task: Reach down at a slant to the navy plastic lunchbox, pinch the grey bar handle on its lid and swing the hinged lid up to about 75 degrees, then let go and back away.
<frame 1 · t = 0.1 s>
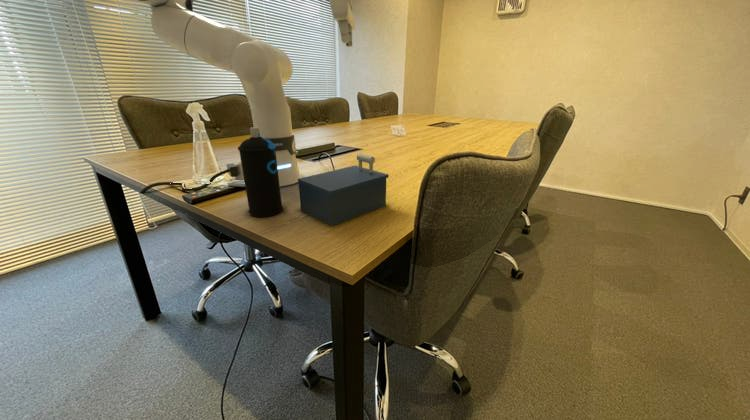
hand: (347, 44, 82), 39 cm above the table, tool pointing down, fingers open, 8 cm apart
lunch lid: (344, 169, 73), point 10 cm above the table, hinge at 0.0°
aerosol can: (266, 211, 75), on the table
lunchbox: (344, 207, 77), on the table
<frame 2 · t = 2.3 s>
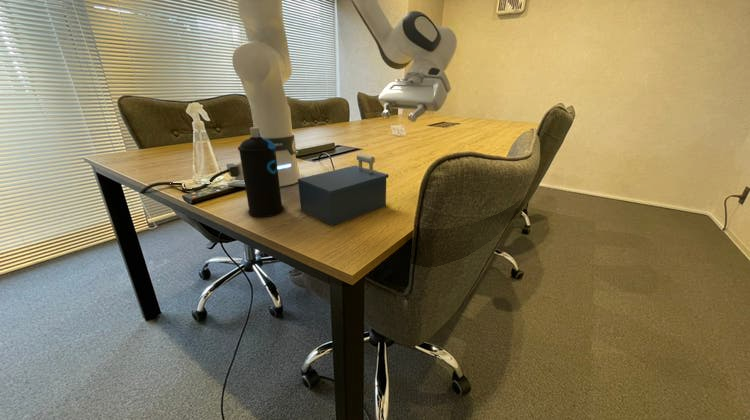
hand: (397, 118, 82), 20 cm above the table, tool tilted 45°, fingers open, 8 cm apart
nothing on the table moved.
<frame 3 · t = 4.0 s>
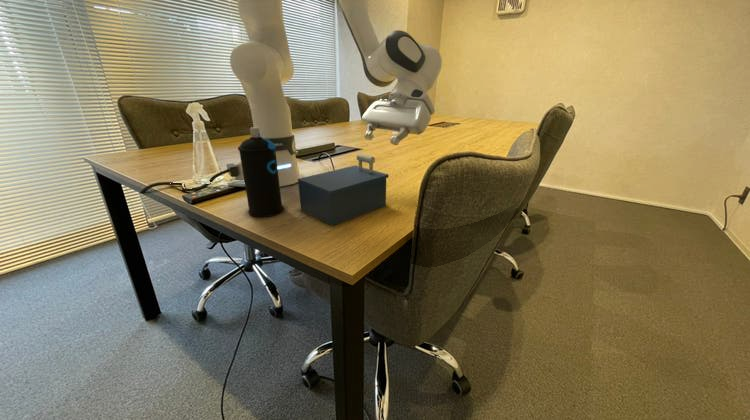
hand: (379, 141, 80), 15 cm above the table, tool tilted 45°, fingers open, 8 cm apart
nothing on the table moved.
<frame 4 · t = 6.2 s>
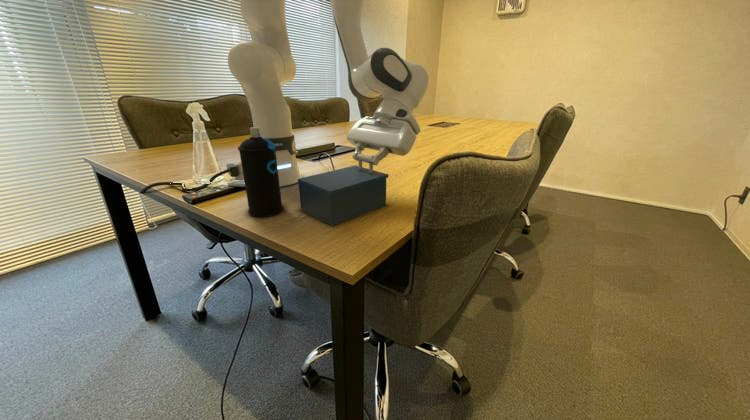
hand: (363, 161, 77), 11 cm above the table, tool tilted 45°, fingers closed on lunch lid, 5 cm apart
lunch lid: (344, 169, 73), point 10 cm above the table, hinge at 0.0°, touching gripper
everything else where it was.
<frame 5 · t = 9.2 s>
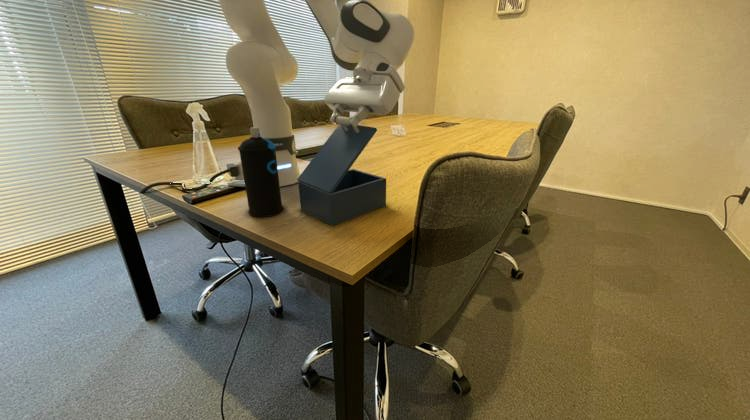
hand: (342, 123, 69), 21 cm above the table, tool tilted 45°, fingers closed on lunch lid, 5 cm apart
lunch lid: (331, 149, 69), point 15 cm above the table, hinge at 40.8°, touching gripper
everything else where it was.
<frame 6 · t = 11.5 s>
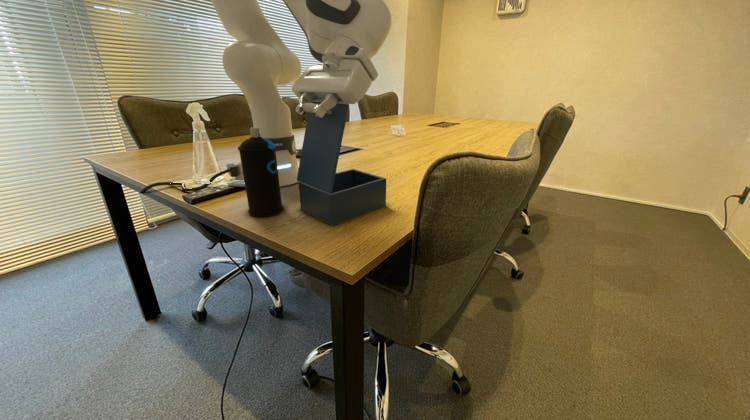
hand: (307, 114, 62), 23 cm above the table, tool tilted 45°, fingers closed on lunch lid, 5 cm apart
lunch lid: (312, 144, 65), point 17 cm above the table, hinge at 72.7°, touching gripper
everything else where it was.
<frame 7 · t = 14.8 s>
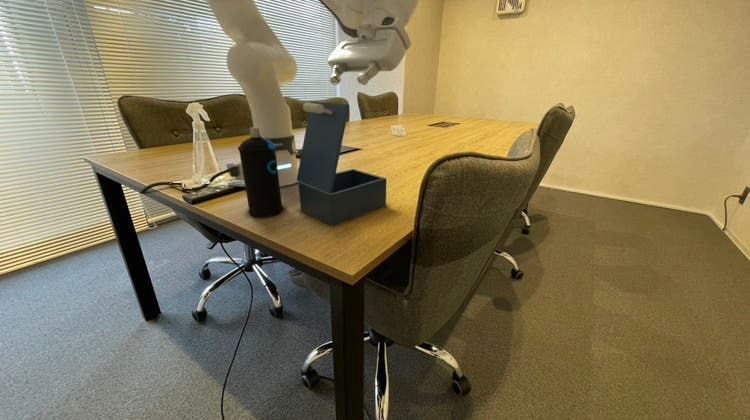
hand: (346, 82, 67), 29 cm above the table, tool tilted 45°, fingers open, 8 cm apart
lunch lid: (313, 144, 65), point 17 cm above the table, hinge at 72.2°
everything else where it was.
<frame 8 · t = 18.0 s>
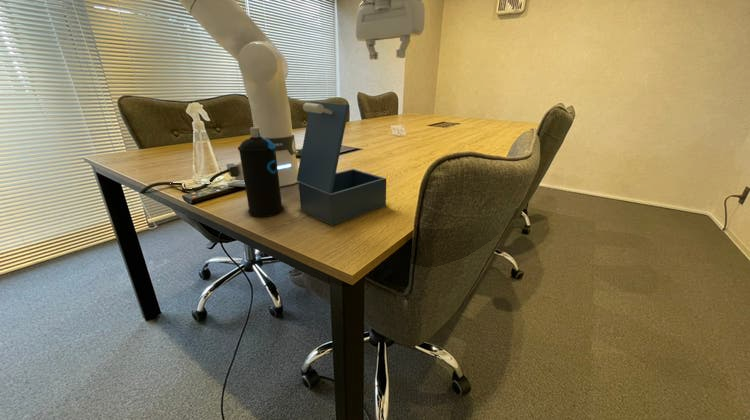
hand: (386, 58, 78), 35 cm above the table, tool pointing down, fingers open, 8 cm apart
nothing on the table moved.
at the end: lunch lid at +72° (first picture: +0°); aerosol can moved 0.2 cm from its start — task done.
